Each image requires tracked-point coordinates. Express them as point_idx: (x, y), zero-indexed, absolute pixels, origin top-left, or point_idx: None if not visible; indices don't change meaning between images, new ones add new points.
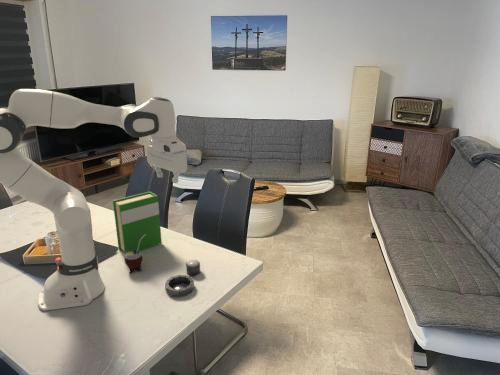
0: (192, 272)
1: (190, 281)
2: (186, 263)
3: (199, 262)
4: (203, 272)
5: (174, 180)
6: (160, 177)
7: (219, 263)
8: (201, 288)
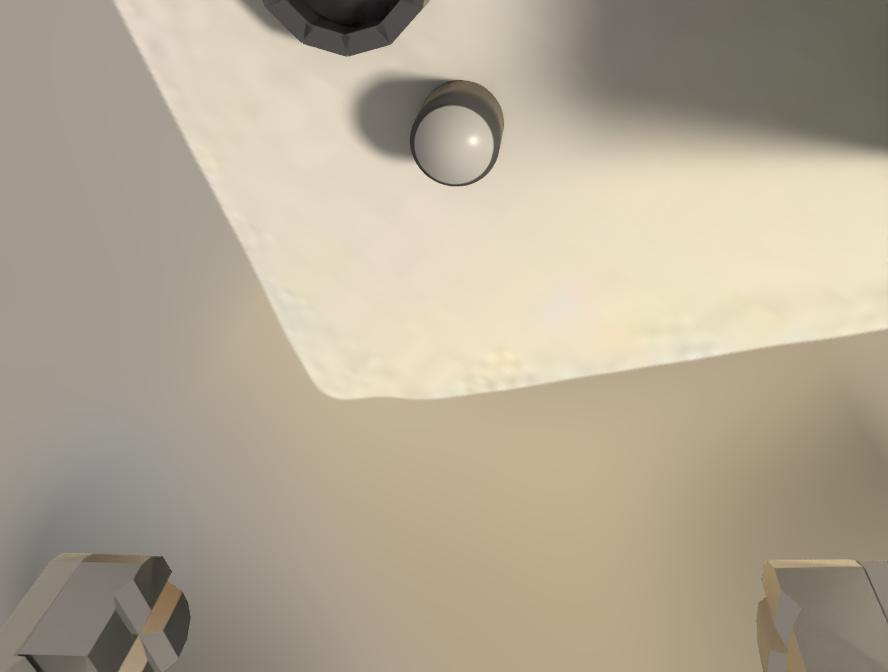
0: (424, 104)
1: (313, 25)
2: (485, 113)
3: (442, 183)
4: None
5: (13, 613)
6: (766, 577)
7: (447, 284)
8: (283, 63)
